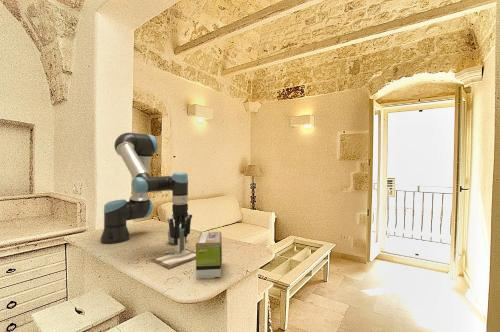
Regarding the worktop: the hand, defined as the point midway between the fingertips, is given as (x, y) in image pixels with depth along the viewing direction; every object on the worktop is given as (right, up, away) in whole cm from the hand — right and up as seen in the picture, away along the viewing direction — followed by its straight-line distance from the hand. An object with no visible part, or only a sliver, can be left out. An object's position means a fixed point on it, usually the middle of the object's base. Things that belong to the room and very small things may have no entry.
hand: (180, 250), depth 120 cm
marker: (0, -1, 0) cm, 1 cm away
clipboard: (0, -2, -5) cm, 5 cm away
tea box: (+18, -3, -18) cm, 25 cm away
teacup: (-7, -2, +20) cm, 21 cm away
